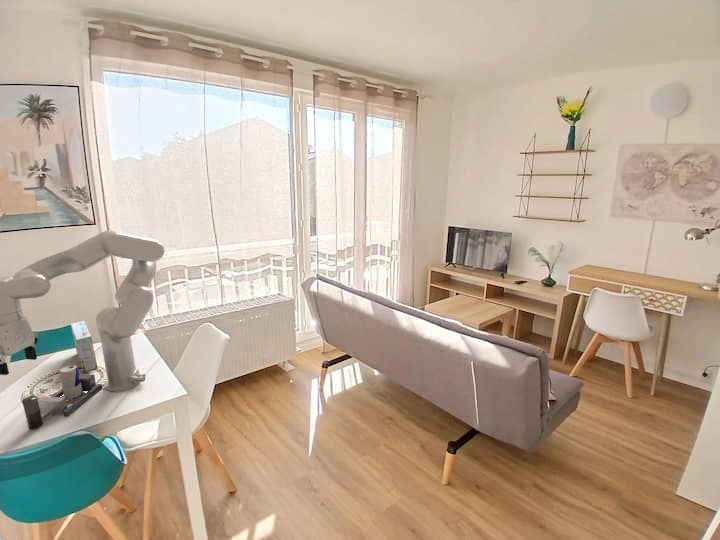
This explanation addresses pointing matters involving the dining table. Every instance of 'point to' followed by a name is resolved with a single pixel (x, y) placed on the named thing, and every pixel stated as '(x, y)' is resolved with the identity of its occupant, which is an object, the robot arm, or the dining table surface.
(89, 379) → the press
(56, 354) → the dining table surface
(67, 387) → the energy drink
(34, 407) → the ram
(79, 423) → the dining table surface
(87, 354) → the snack box
